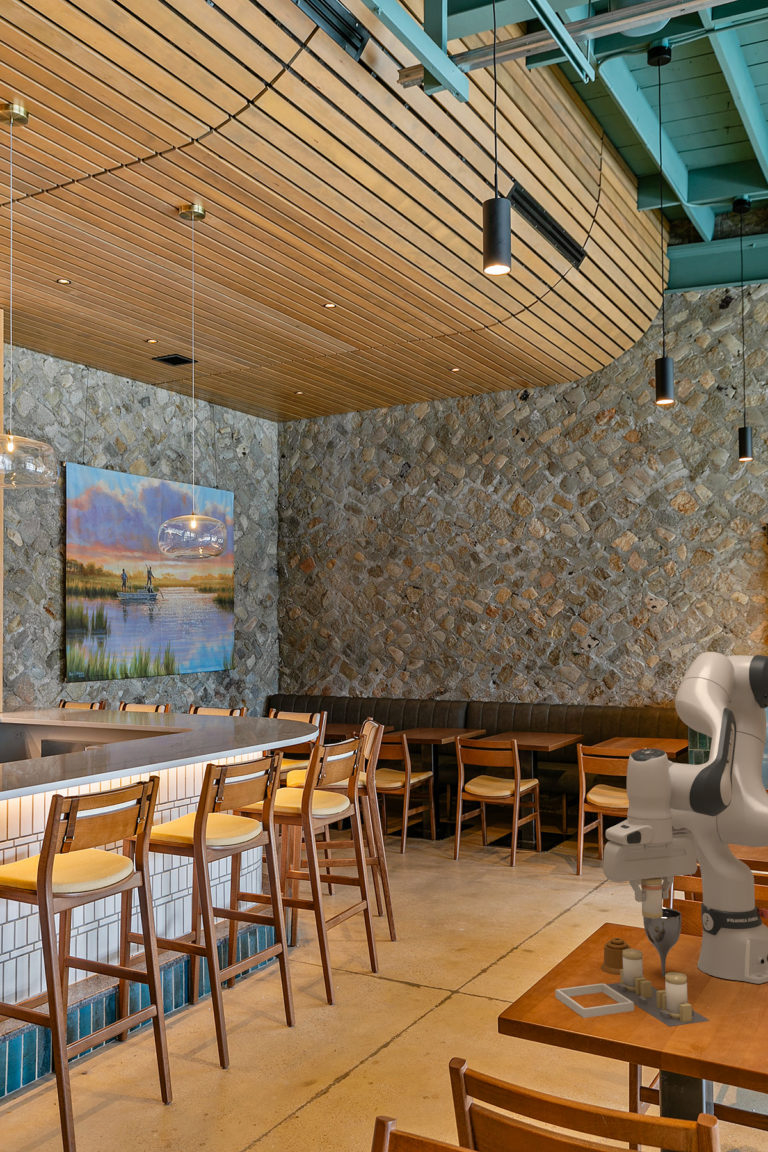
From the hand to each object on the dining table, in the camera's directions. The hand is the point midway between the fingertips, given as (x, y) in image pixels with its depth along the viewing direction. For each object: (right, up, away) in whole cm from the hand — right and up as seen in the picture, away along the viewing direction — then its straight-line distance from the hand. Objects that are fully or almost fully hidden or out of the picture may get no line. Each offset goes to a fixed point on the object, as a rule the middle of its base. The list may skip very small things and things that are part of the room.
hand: (651, 899), depth 190 cm
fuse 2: (+2, -19, -9) cm, 21 cm away
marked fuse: (0, -3, 0) cm, 3 cm away
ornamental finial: (-3, -23, +17) cm, 29 cm away
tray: (-12, -21, -3) cm, 25 cm away
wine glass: (+6, -23, +13) cm, 27 cm away
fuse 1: (-2, -21, +6) cm, 21 cm away
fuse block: (0, -21, -2) cm, 22 cm away
